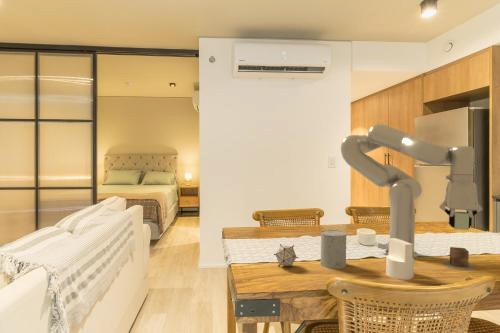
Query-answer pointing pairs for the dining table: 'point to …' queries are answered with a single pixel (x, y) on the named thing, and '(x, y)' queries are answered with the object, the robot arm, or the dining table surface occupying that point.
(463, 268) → the build pad
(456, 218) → the green block
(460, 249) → the walnut block
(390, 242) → the base with upright slab
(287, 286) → the dining table surface
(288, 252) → the grey spiked polyhedron
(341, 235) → the grey cylinder
